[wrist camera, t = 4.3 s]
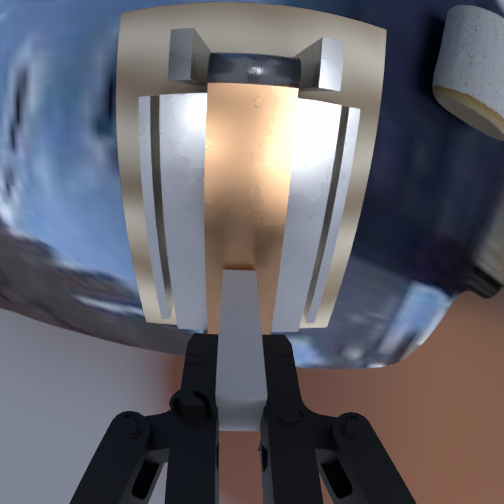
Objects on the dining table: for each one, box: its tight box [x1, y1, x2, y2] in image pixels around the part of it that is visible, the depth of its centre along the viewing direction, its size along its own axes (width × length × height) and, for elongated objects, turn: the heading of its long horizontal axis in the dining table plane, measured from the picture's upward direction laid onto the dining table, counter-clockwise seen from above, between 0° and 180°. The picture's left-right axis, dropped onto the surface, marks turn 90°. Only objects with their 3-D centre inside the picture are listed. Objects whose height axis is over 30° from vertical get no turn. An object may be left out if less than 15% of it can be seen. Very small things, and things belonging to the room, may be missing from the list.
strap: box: [204, 52, 301, 335], centre depth 13 cm, size 17×4×2 cm, turn 176°
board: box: [116, 2, 386, 328], centre depth 18 cm, size 24×16×2 cm, turn 176°
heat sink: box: [139, 28, 361, 335], centre depth 15 cm, size 20×11×6 cm, turn 176°
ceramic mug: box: [432, 5, 504, 141], centre depth 11 cm, size 11×8×8 cm
